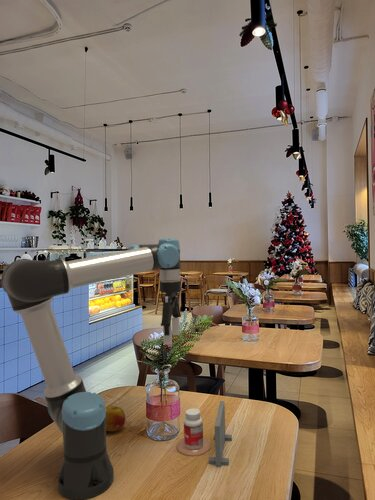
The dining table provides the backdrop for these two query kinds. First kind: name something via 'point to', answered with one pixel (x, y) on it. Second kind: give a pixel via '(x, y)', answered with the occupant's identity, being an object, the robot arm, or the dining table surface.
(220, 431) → the screen
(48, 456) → the dining table surface
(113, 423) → the fruit
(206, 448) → the coaster
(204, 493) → the dining table surface
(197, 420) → the pill bottle
